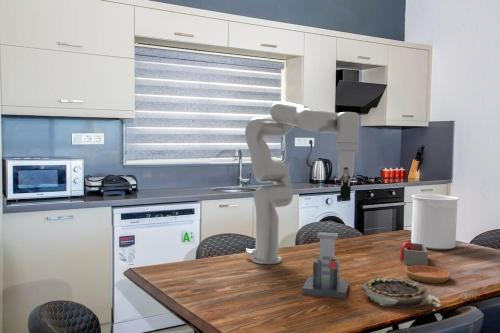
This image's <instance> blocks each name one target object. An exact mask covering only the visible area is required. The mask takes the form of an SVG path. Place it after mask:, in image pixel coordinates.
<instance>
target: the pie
mask: <svg viewBox="0 0 500 333" xmlns="http://www.w3.org/2000/svg"><path fill="white" fill-rule="evenodd" d="M359 288H361V290H362V291H363V292H364V293H365V294H366V295H367V296H368V300H370V299H371V300H370V301H372V300H373V302H374V303H377V304H378V306H381V305H382V307H387V306H389V308H397V307H398V309H400V308H401V309H402V308H403V309H408V308H415V307H416V308H418V307H421V306H423V305H428V306H429V305H430V304H431V305H432V304H433V306H434V307H437V308H440V307H441V300H440V299H439V298H438V297H436V296H435V295H431V294H430V291H429V290H428V288H426V287H424V285H423V284H422V283H420V282H419V281H413V280H411V279H410V280H409V279H402V278H398V277H397V278H396V277H393V278H391V277H375V278H374V277H373V278H370V279H368V280H366V282H364V281H363V282H361V286H359ZM433 300H435V301H433ZM433 311H434V312H435V311H436V309H435V308H432V312H433Z"/></svg>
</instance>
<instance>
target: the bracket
mask: <svg viewBox="0 0 500 333" xmlns="http://www.w3.org/2000/svg"><path fill="white" fill-rule="evenodd" d="M407 247H408V250H413V251H414V247H413V244H412V243H411V241H405V243H404V244H403V243H402V244H401V248H400V257H399V262H403V263H404V248H407Z"/></svg>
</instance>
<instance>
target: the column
mask: <svg viewBox="0 0 500 333" xmlns="http://www.w3.org/2000/svg"><path fill="white" fill-rule="evenodd" d="M316 235H317V236H316V239H319V253H318V254H319V256H318V257H319V262H321V283H320V285H321V286H329V284H330V269H329V261H334V259H335V246H336V245H335V243H336V240H338V236H339V235H338V233H337V232H322V231H321V232H320V231H319V232H318V233H317V234H316Z"/></svg>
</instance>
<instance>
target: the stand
mask: <svg viewBox="0 0 500 333" xmlns="http://www.w3.org/2000/svg"><path fill="white" fill-rule="evenodd" d="M312 263H313V268H312V269H313V270H312V271H313V272H312V276H308V275H307V276H308V277H307V278H306V280H305V282H304V284H303V286H302V289H301V294H302V295H310V296H318V297H325V298H326V297H327V298H337V299H346V296H347V292H348V288H349V280H348V279H341V278H340V258H334V261H329V269H330V284H329V286H321V285H320V283H321V262H319V256H317V257H315V259H314V261H313V262H312ZM339 278H340V279H339Z"/></svg>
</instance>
